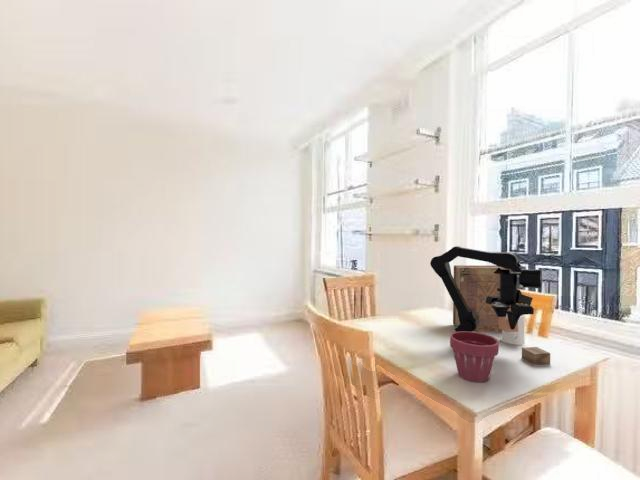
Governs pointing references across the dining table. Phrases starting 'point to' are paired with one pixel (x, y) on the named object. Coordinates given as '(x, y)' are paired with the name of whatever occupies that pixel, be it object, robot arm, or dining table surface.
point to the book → (478, 293)
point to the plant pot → (474, 354)
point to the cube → (506, 325)
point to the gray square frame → (532, 364)
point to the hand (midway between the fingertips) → (508, 327)
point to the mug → (515, 334)
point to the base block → (536, 356)
